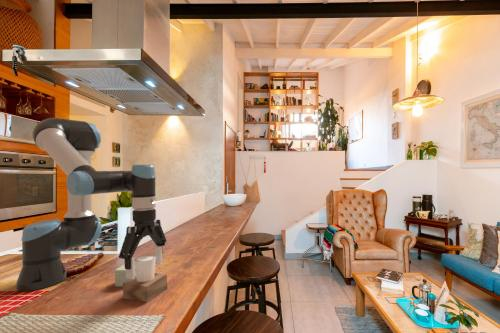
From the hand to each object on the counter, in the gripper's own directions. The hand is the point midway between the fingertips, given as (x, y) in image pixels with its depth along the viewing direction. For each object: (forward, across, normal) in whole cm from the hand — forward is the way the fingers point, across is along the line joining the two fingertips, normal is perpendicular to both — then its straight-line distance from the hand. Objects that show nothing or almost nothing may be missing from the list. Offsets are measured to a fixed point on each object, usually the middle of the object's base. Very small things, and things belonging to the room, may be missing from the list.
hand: (145, 270), depth 90 cm
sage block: (+8, +5, +13) cm, 16 cm away
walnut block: (+8, 0, 0) cm, 8 cm away
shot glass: (+3, 0, 0) cm, 3 cm away
